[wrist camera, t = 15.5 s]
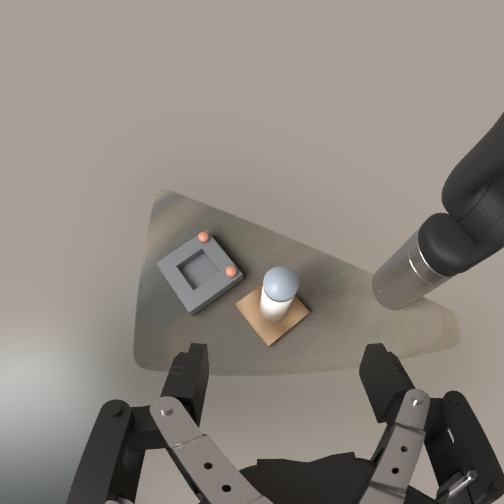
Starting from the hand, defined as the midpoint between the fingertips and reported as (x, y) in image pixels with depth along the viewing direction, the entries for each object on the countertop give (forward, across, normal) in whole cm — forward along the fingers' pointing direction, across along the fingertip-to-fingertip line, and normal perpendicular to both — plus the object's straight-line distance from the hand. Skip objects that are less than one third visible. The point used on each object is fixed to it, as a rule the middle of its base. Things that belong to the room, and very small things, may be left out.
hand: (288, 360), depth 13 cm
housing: (+35, +11, +11) cm, 38 cm away
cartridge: (+30, -2, +15) cm, 33 cm away
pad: (+31, -2, +16) cm, 34 cm away
